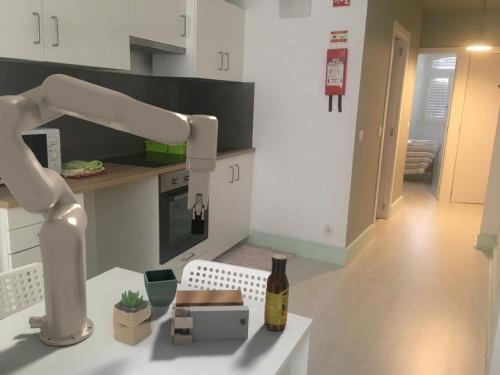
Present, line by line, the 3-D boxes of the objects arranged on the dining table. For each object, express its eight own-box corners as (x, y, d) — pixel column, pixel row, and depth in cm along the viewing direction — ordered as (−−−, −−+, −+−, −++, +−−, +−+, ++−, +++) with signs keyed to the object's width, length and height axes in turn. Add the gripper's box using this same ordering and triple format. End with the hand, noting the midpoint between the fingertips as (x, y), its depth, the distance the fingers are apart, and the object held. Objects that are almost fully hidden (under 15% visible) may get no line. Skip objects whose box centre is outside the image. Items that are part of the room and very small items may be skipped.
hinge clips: (170, 345, 103) (171, 319, 101) (172, 327, 111) (172, 303, 109) (192, 344, 103) (192, 318, 102) (192, 327, 111) (192, 302, 110)
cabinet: (175, 327, 111) (175, 303, 109) (176, 313, 118) (176, 290, 117) (242, 325, 113) (243, 302, 112) (239, 312, 121) (240, 289, 119)
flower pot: (178, 308, 121) (178, 279, 119) (147, 312, 118) (147, 282, 116) (172, 295, 129) (172, 267, 127) (143, 298, 126) (143, 270, 124)
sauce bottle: (285, 333, 111) (289, 262, 107) (261, 329, 112) (265, 260, 108) (287, 321, 117) (292, 254, 113) (265, 318, 118) (269, 251, 114)
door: (179, 342, 104) (179, 312, 103) (179, 335, 107) (180, 306, 106) (248, 340, 106) (249, 311, 105) (246, 333, 110) (248, 305, 108)
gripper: (187, 158, 114) (184, 219, 118) (184, 168, 97) (181, 238, 101) (214, 160, 115) (211, 220, 118) (216, 170, 98) (212, 239, 102)
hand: (197, 228), depth 110 cm, fingers open, 9 cm apart
